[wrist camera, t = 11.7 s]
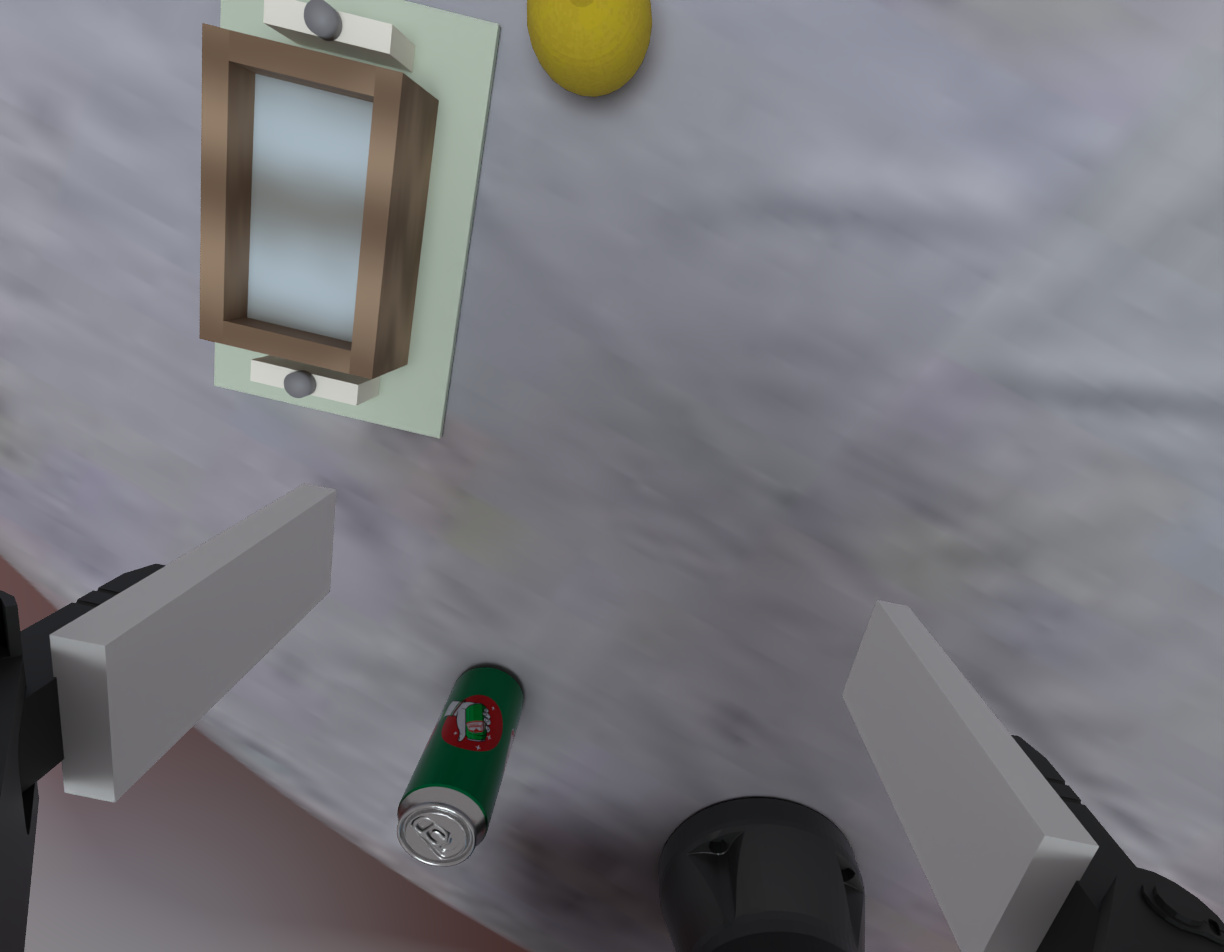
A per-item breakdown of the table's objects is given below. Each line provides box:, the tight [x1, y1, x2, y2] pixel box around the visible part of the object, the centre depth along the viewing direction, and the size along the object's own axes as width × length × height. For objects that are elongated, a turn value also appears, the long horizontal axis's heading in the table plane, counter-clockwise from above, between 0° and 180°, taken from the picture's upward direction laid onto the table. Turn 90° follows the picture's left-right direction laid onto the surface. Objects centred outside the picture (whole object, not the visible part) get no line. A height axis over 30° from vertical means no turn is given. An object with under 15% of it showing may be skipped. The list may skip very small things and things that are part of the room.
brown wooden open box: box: [200, 23, 439, 379], centre depth 32 cm, size 14×9×5 cm, turn 167°
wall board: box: [214, 0, 501, 439], centre depth 33 cm, size 22×14×4 cm, turn 167°
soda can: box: [397, 667, 524, 867], centre depth 39 cm, size 5×5×12 cm
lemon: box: [527, 0, 652, 97], centre depth 28 cm, size 6×6×8 cm
